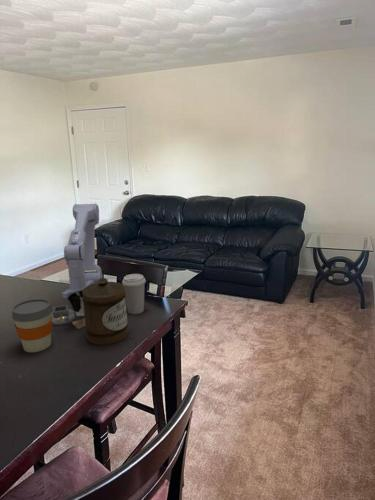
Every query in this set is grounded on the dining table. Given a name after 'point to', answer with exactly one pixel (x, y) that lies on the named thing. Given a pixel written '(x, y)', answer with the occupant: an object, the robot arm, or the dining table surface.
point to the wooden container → (105, 312)
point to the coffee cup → (134, 292)
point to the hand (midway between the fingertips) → (80, 308)
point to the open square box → (60, 311)
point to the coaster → (79, 323)
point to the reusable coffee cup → (33, 324)
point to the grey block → (81, 307)
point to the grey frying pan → (65, 320)
